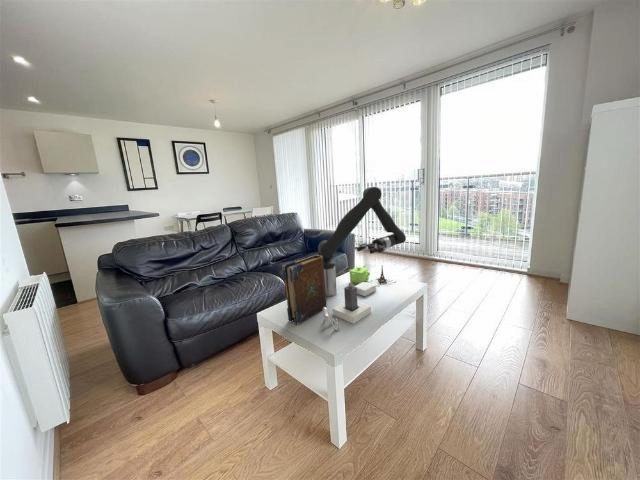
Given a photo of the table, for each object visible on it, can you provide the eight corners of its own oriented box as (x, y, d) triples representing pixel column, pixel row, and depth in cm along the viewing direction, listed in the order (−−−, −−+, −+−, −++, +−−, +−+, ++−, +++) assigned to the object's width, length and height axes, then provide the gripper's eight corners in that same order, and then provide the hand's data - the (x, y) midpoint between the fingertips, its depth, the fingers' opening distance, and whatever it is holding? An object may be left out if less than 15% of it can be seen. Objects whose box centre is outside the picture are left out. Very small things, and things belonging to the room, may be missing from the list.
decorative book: (297, 325, 125) (291, 267, 119) (288, 321, 130) (282, 265, 124) (328, 307, 142) (325, 255, 136) (319, 303, 147) (315, 253, 140)
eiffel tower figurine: (397, 282, 170) (396, 263, 167) (389, 287, 163) (388, 267, 160) (377, 277, 180) (377, 259, 178) (369, 282, 174) (368, 263, 171)
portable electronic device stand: (339, 330, 118) (338, 314, 117) (322, 332, 118) (321, 316, 116) (337, 321, 127) (336, 305, 125) (321, 323, 126) (320, 307, 125)
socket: (332, 314, 133) (332, 308, 133) (350, 304, 143) (349, 299, 142) (353, 323, 123) (353, 317, 123) (370, 312, 133) (370, 306, 132)
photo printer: (351, 286, 157) (364, 280, 165) (352, 292, 158) (365, 286, 166) (365, 290, 149) (377, 284, 157) (365, 297, 150) (378, 290, 158)
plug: (345, 313, 133) (343, 283, 130) (351, 309, 136) (349, 280, 133) (352, 315, 130) (350, 285, 126) (357, 312, 133) (356, 282, 129)
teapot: (365, 277, 182) (365, 263, 180) (374, 283, 169) (374, 268, 167) (345, 280, 178) (344, 266, 176) (352, 287, 165) (352, 272, 163)
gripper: (371, 236, 152) (353, 242, 141) (392, 239, 141) (374, 245, 131) (371, 248, 153) (353, 255, 143) (392, 252, 143) (375, 259, 132)
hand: (363, 250), depth 137 cm, fingers open, 8 cm apart
